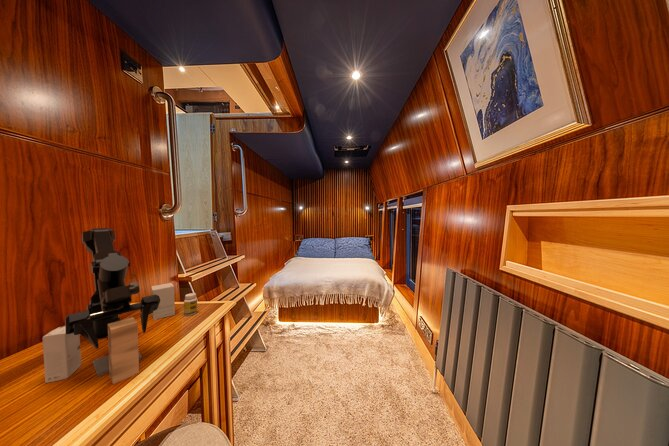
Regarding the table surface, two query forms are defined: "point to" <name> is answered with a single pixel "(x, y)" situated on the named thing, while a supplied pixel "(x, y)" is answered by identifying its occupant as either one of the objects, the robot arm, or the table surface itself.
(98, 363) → the slate coaster
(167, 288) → the supplement box
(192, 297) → the supplement bottle
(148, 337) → the table surface
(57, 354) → the skincare box
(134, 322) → the oak block
